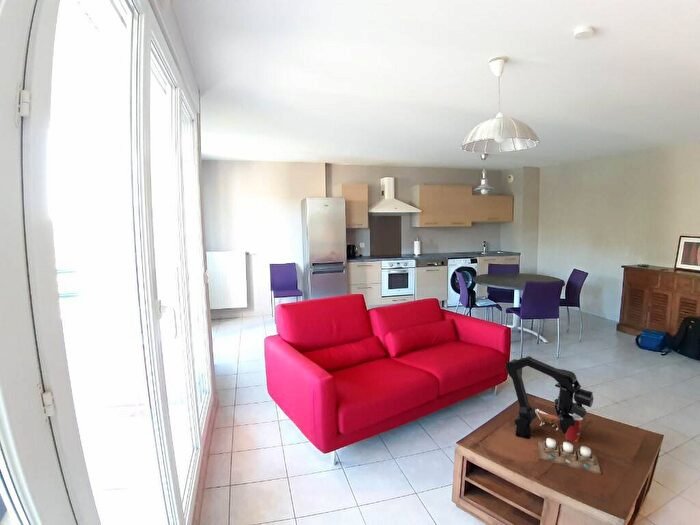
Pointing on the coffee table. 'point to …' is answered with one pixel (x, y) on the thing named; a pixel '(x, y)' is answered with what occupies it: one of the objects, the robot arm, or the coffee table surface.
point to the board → (568, 458)
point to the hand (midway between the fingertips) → (562, 427)
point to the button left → (550, 443)
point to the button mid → (568, 447)
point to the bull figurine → (547, 418)
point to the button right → (585, 452)
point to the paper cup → (574, 429)
